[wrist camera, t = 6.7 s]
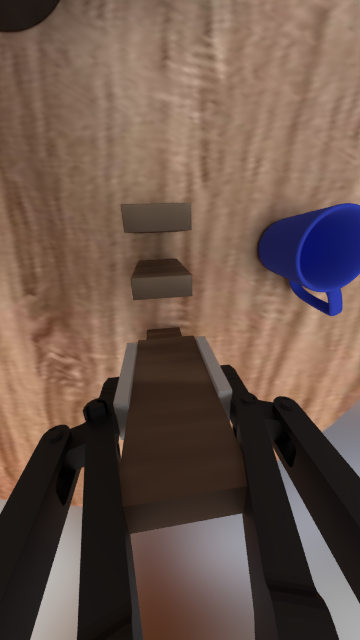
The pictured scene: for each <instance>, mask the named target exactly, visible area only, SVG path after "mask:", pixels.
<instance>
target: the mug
mask: <svg viewBox="0 0 360 640" xmlns="http://www.w3.org/2000/svg"><path fill="white" fill-rule="evenodd" d="M259 257H260V260H261V262H262V263H263V265H264V266H265V267H266V268H267V269H269V270H270V271H272V272H274V273H276V274H279V275H281V276H283V277H285V278H287V279H289V283H290V286H291V288H292V290H293V292H294V293H295V294H296V295H297V296H298V297H299V298H300V299H302V300H303V301H305V302H306V303H308V304H309V305H311V306H313V307H314V308H316V309H318V310H320V311H322V312H323V313H325V314H327V315H329V316H334V315H337V314H339V313H340V312H341V311H342V293H341V289H340V288H342V287H343V286H345V285H347V284H348V283H350V282H351V281H352V280H354V279H355V278H356V277H357V276H358V275H359V274H360V205H357V204H351V203H344V204H339V205H335V206H331V207H327V208H323V209H320V210H316V211H312V212H308V213H304V214H300V215H296V216H292V217H289V218H285V219H282V220H279V221H277V222H275V223H274V224H272V225H271V226H270V227H269V228H268V229H267V230H266V231H265V233H264V234H263V236H262V238H261V240H260V244H259ZM301 285H302V286H304V287H306V288H308V289H310V290H312V291H316V292H326V294H327V297H328V303H327V302H325V301H323V300H321V299H318V298H317V297H315V296H313V295H311V294H310V293H308V292H307V291H306V290H305V289H304V288H303V287H302V286H301Z"/></svg>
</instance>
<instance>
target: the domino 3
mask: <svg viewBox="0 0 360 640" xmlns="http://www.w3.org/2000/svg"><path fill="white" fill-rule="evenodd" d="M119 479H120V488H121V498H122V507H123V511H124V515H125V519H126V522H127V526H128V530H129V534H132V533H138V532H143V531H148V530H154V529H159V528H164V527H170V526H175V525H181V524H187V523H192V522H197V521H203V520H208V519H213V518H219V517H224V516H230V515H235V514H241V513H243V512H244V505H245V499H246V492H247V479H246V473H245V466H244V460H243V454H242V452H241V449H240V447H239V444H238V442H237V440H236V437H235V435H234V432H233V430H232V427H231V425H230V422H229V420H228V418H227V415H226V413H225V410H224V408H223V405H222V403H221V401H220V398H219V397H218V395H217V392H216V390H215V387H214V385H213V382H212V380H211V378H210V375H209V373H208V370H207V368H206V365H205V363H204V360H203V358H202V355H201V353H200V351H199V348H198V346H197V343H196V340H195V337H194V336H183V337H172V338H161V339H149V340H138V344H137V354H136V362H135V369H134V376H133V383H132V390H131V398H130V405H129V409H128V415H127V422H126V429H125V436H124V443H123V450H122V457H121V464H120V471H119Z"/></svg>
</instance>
